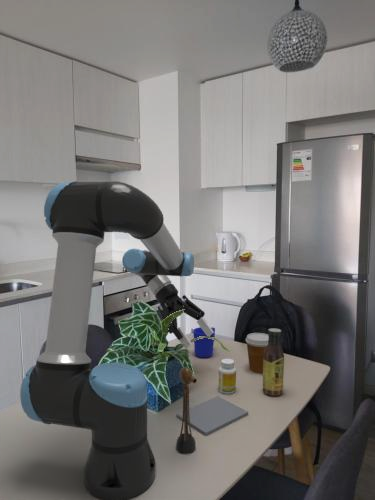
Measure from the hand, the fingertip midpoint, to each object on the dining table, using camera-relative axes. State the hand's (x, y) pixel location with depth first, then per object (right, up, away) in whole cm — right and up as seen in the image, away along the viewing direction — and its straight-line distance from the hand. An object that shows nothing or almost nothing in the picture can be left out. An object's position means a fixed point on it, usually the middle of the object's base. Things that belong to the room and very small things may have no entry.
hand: (200, 340), depth 128 cm
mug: (+3, -11, +27) cm, 29 cm away
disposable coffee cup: (+21, -13, +12) cm, 27 cm away
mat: (+3, -16, -19) cm, 25 cm away
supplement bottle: (+8, -15, -4) cm, 18 cm away
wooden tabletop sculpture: (-4, -18, -34) cm, 39 cm away
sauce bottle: (+22, -15, -5) cm, 27 cm away
